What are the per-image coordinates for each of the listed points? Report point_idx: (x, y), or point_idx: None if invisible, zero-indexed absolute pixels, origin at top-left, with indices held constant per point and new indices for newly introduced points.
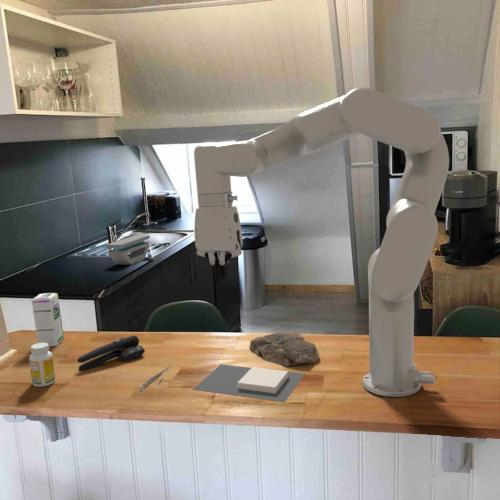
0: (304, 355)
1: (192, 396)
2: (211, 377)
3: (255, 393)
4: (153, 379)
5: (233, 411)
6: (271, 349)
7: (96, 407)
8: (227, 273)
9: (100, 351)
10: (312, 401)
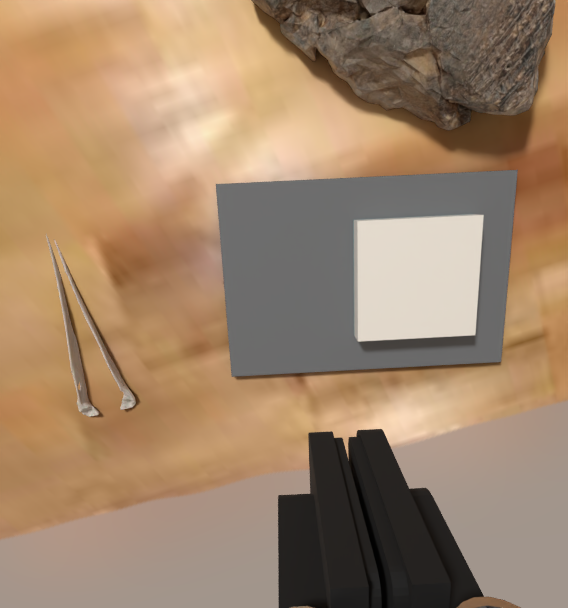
0: (524, 92)
1: (246, 394)
2: (241, 289)
3: (411, 342)
4: (73, 345)
5: (385, 428)
6: (377, 59)
7: (52, 516)
8: (436, 518)
9: None
10: (563, 319)
